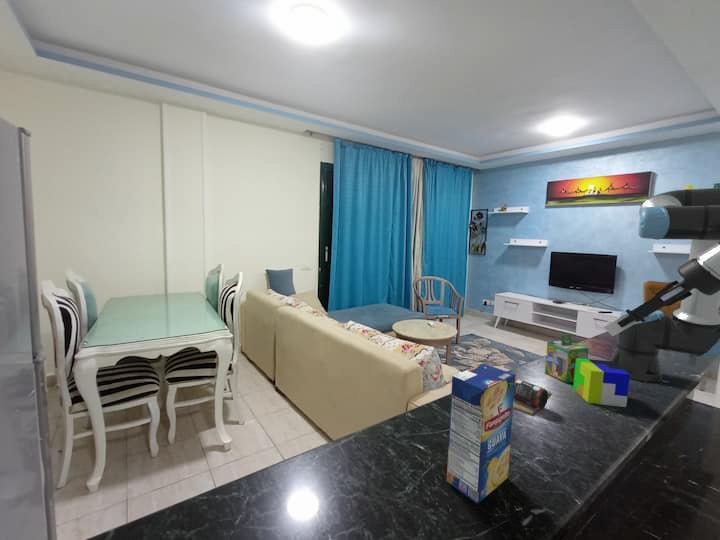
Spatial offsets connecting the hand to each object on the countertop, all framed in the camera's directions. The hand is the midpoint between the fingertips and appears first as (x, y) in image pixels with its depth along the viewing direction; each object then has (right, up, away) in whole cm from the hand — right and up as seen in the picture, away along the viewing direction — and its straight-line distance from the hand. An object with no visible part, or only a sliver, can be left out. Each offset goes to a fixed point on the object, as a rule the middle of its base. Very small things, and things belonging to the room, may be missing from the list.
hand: (609, 331), depth 82 cm
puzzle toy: (+11, -24, +19) cm, 33 cm away
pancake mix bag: (+86, -18, +79) cm, 118 cm away
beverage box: (-39, -27, -16) cm, 50 cm away
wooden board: (-13, -23, +19) cm, 33 cm away
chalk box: (+10, -22, +33) cm, 41 cm away
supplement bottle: (-11, -21, +9) cm, 25 cm away
